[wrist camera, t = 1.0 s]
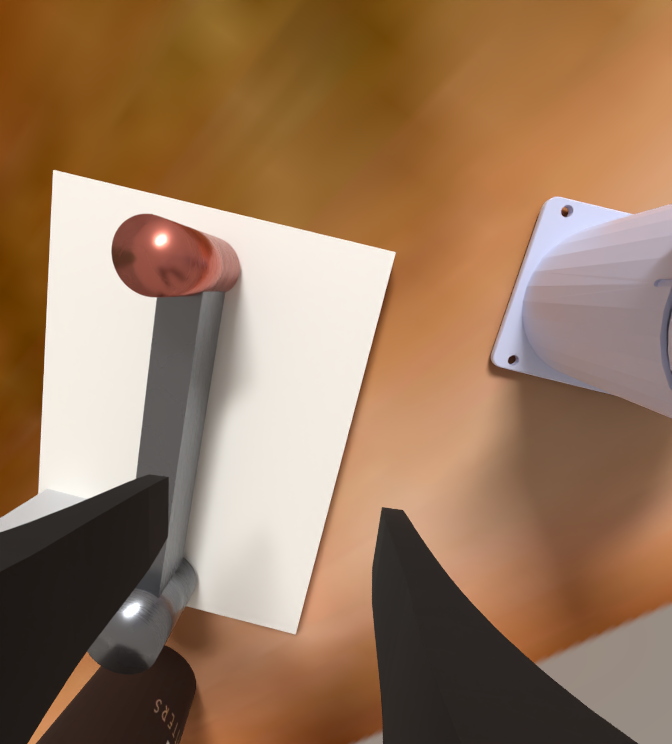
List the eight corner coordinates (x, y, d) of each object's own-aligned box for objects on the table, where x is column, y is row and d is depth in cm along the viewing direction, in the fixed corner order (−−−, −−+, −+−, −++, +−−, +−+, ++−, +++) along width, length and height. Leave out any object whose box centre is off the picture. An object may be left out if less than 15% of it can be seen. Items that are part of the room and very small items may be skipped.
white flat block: (392, 255, 18) (403, 243, 13) (299, 612, 23) (285, 689, 18) (78, 179, 18) (-14, 143, 14) (55, 549, 23) (-17, 610, 19)
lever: (192, 609, 21) (140, 706, 16) (132, 594, 21) (63, 686, 16) (255, 246, 16) (209, 228, 11) (177, 228, 16) (99, 201, 11)
